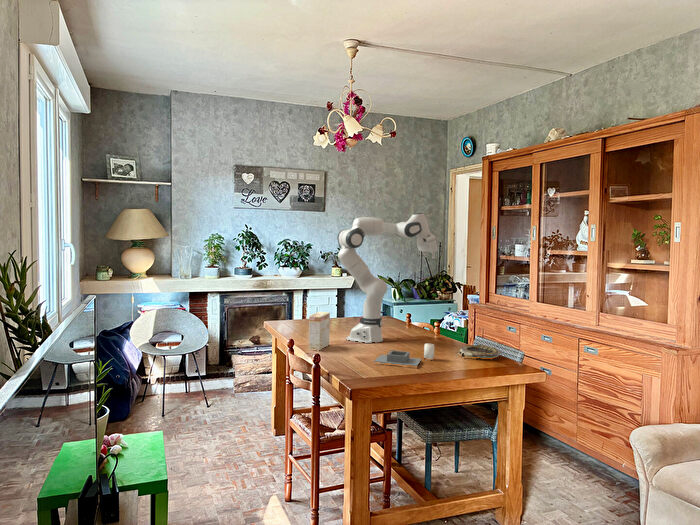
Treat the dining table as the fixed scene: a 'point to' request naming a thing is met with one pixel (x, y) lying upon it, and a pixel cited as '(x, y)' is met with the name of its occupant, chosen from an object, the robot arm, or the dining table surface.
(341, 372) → the dining table surface
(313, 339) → the coffeecake box
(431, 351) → the paper roll
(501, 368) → the dining table surface
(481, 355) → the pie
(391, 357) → the roll caddy
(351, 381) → the dining table surface
